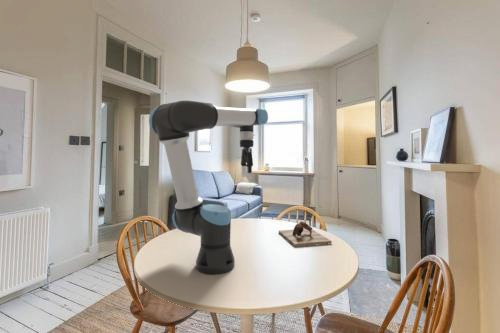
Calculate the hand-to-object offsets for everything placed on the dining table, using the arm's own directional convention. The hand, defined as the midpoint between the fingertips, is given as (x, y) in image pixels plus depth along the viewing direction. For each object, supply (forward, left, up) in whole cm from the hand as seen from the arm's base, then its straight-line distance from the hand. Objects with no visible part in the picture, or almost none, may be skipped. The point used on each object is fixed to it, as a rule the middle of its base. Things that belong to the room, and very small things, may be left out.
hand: (246, 178), depth 132 cm
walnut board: (-12, -29, -32) cm, 45 cm away
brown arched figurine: (-12, -28, -30) cm, 43 cm away
